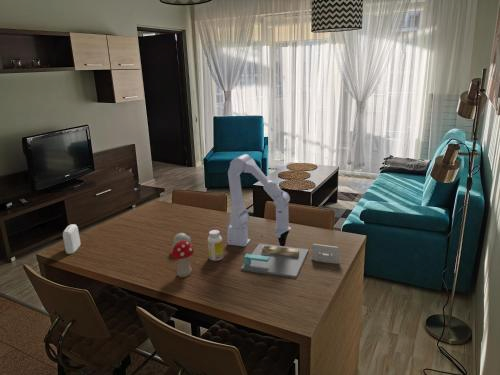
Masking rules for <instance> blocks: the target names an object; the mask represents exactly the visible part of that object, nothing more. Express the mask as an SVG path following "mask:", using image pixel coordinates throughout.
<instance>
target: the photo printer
mask: <svg viewBox="0 0 500 375" xmlns="http://www.w3.org/2000/svg"><path fill="white" fill-rule="evenodd" d="M62 238H63V243H64V249H65V253H66V254H68V255H72V254H74V253H75V252H76V251H77V250H78V249H79V248H80V247H81V244H82V243H81V238H80V232H79V227H78V226H77V224H75V223H74V224H69V225H67V226H66V228H65V229H64V230H63V232H62Z"/></svg>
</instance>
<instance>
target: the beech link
mask: <svg viewBox="0 0 500 375" xmlns="http://www.w3.org/2000/svg"><path fill="white" fill-rule="evenodd" d="M270 245H271V244H268V245H263V246H262V253H265V254H268V253H271V254H279V255H287V256H294V257H298V255H299V249H291V248H283V247H274V246H270Z"/></svg>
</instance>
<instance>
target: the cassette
mask: <svg viewBox="0 0 500 375" xmlns="http://www.w3.org/2000/svg"><path fill="white" fill-rule="evenodd" d="M340 250H341V248H340V247H339V246H335V245H334V246H332V245H326V244H318V243H312V244H311V260H312V261H315V262H322V263H327V264H337V265H339V264H340V254H341V253H340Z"/></svg>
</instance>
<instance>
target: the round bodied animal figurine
mask: <svg viewBox="0 0 500 375" xmlns="http://www.w3.org/2000/svg"><path fill="white" fill-rule="evenodd" d="M179 241H188V242H189V243H190V244H191V243H192V242H191V241H192V235H187V234H186V233H184V232H179V233H177V234H176V235H175V236H174V237H173V245H172V247H171V250H173V248H174V246H175V244H176V243H178V242H179ZM191 245H192V244H191Z"/></svg>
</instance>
